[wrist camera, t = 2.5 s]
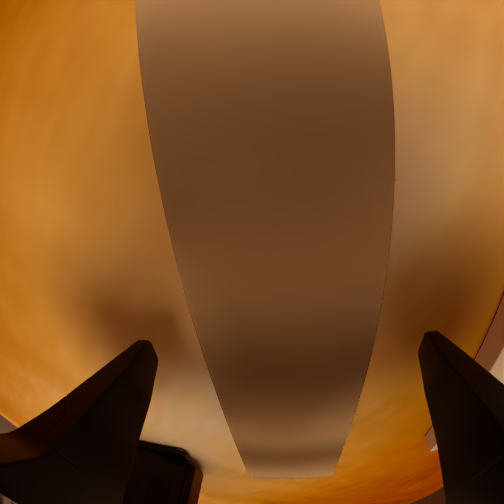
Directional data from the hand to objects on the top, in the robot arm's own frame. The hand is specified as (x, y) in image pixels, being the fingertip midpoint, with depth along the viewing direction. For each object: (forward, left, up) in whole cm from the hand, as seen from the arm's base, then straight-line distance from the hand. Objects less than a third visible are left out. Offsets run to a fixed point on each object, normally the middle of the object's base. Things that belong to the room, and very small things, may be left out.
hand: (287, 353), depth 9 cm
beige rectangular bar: (0, 0, -2) cm, 3 cm away
